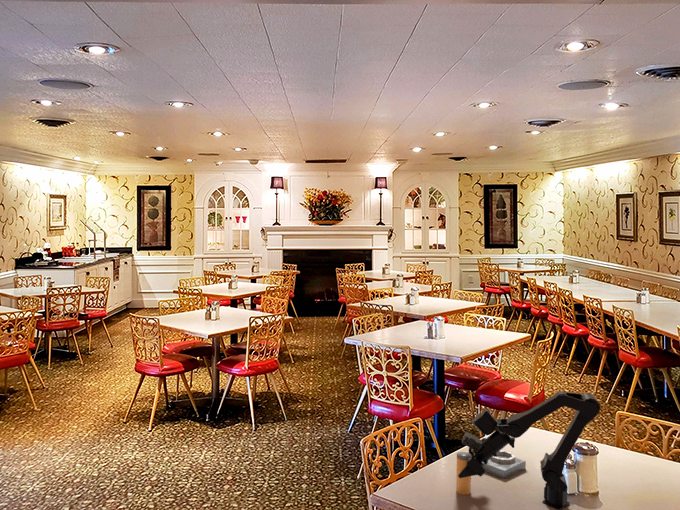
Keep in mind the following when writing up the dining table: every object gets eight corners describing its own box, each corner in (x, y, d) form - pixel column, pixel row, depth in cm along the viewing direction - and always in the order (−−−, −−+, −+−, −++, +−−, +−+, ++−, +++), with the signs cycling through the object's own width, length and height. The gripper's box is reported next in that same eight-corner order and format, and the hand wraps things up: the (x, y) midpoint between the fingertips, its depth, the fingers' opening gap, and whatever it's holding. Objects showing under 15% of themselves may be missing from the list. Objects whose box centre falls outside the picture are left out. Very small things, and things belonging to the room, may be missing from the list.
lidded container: (473, 492, 199) (474, 455, 198) (464, 496, 196) (465, 458, 195) (462, 487, 203) (462, 450, 202) (453, 491, 199) (453, 454, 199)
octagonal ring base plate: (525, 468, 219) (525, 450, 218) (504, 478, 210) (504, 459, 209) (490, 456, 231) (490, 439, 231) (468, 465, 222) (468, 447, 222)
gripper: (477, 418, 206) (445, 445, 209) (474, 435, 188) (440, 464, 192) (499, 441, 204) (467, 468, 208) (499, 461, 186) (464, 490, 190)
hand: (459, 472), depth 199 cm, fingers open, 7 cm apart
